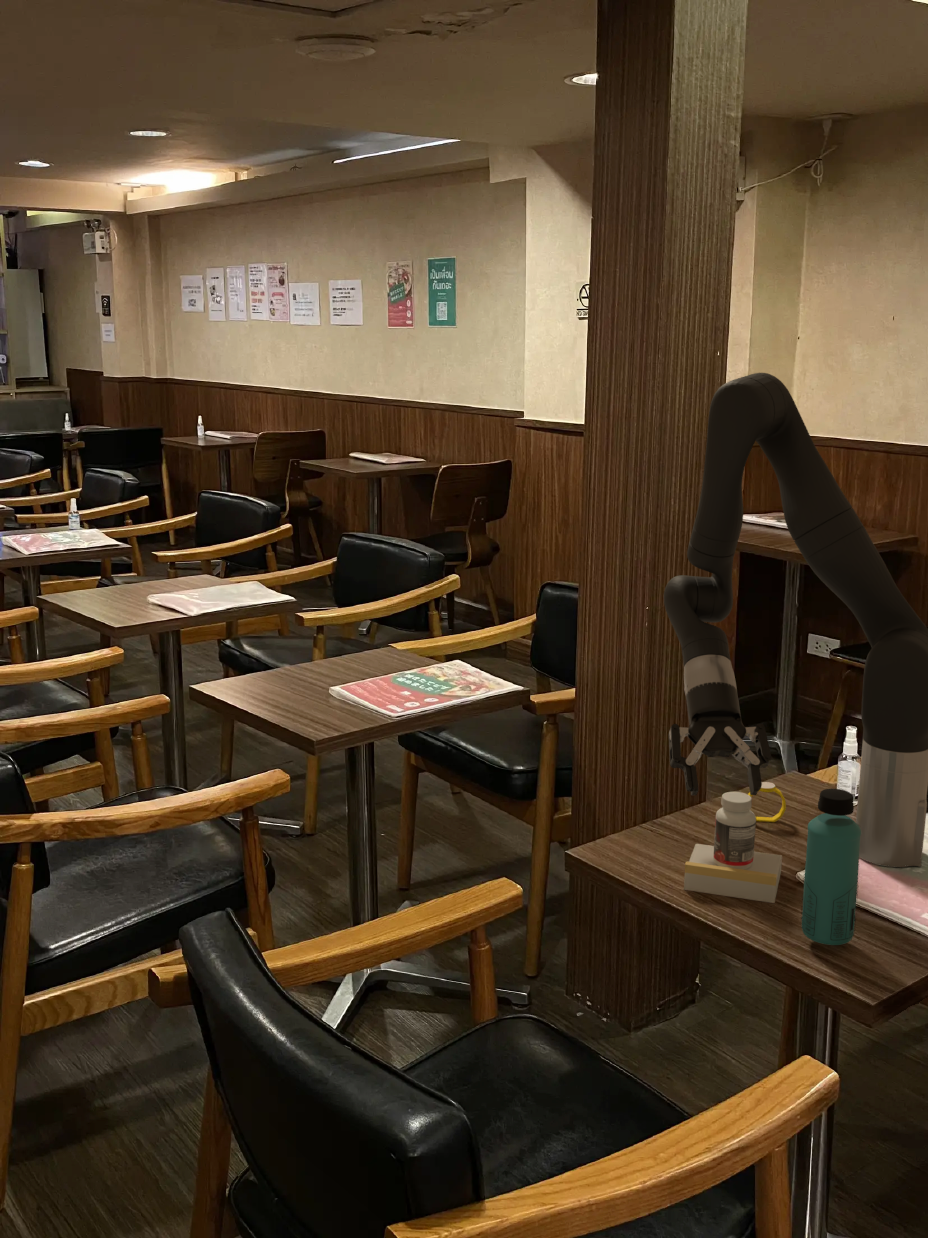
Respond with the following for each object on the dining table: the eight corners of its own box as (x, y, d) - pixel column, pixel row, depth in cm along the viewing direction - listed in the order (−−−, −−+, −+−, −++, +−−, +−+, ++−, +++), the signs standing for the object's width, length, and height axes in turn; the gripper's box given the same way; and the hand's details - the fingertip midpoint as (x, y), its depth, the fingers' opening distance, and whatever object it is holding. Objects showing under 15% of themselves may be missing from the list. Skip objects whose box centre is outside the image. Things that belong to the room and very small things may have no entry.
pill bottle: (708, 855, 167) (711, 790, 165) (745, 854, 168) (749, 788, 166) (720, 872, 162) (724, 805, 160) (758, 871, 163) (763, 803, 160)
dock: (780, 872, 168) (782, 847, 167) (774, 903, 159) (776, 877, 158) (695, 859, 172) (696, 835, 171) (683, 889, 163) (685, 864, 162)
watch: (746, 825, 185) (746, 788, 183) (744, 817, 187) (744, 782, 186) (786, 824, 184) (786, 787, 183) (784, 817, 187) (783, 781, 185)
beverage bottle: (856, 960, 145) (869, 805, 140) (799, 954, 146) (811, 800, 141) (850, 934, 151) (863, 785, 146) (796, 928, 152) (807, 780, 147)
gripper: (667, 680, 175) (679, 783, 166) (764, 680, 175) (781, 782, 167) (659, 704, 181) (670, 804, 173) (752, 703, 182) (768, 803, 173)
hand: (725, 793), depth 170 cm, fingers open, 8 cm apart
